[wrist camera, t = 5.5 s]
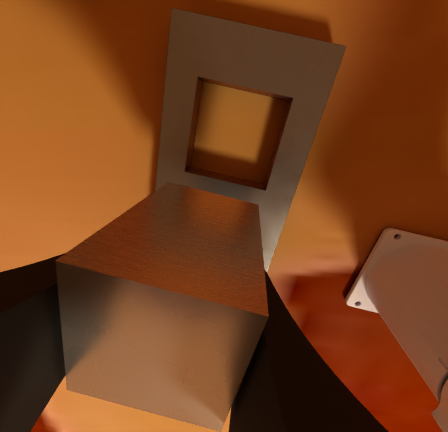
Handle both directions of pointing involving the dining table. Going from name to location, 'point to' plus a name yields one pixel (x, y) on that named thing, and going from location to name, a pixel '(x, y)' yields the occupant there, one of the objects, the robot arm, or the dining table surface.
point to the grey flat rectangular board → (252, 82)
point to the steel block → (166, 305)
